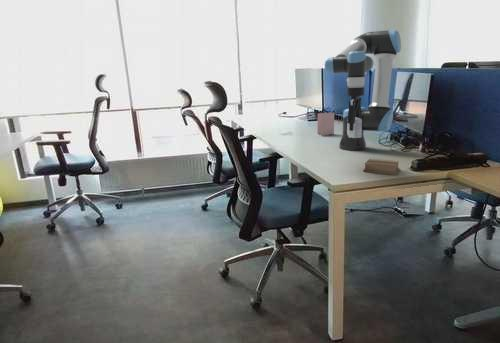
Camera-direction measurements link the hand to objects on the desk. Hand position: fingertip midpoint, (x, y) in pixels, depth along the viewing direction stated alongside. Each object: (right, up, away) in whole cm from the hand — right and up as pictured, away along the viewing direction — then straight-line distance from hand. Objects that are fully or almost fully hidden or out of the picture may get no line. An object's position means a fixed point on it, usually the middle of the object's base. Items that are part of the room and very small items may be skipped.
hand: (354, 135), depth 177 cm
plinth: (+11, -17, -6) cm, 21 cm away
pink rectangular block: (+4, +8, +84) cm, 85 cm away
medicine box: (0, -1, 0) cm, 1 cm away
